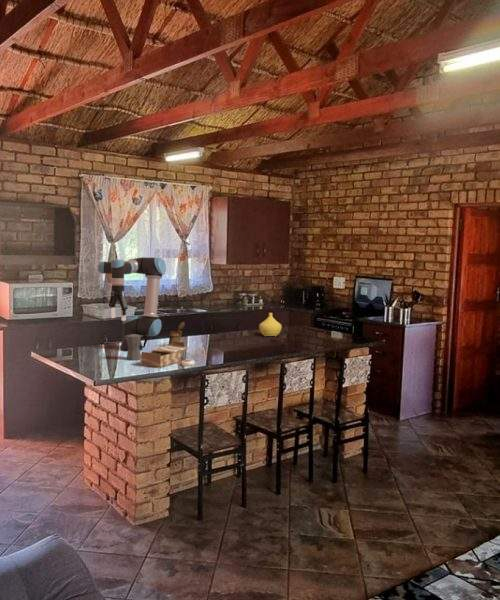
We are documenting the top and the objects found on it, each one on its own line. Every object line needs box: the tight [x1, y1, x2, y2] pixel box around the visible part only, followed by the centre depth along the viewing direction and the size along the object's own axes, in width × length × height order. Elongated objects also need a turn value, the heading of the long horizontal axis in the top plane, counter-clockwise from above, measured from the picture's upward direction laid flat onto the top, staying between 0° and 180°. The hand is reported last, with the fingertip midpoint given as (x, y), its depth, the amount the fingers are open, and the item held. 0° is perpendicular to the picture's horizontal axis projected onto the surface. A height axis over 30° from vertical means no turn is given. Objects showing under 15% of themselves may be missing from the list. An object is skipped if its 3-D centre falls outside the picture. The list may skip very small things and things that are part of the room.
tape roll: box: [180, 359, 196, 367], centre depth 340 cm, size 8×8×3 cm
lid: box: [151, 341, 190, 353], centre depth 350 cm, size 19×14×4 cm
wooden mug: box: [167, 321, 186, 346], centre depth 401 cm, size 9×14×18 cm, turn 134°
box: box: [140, 350, 181, 369], centre depth 341 cm, size 20×15×8 cm
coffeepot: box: [124, 331, 149, 361], centre depth 354 cm, size 15×9×18 cm, turn 90°
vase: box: [258, 312, 282, 337], centre depth 458 cm, size 18×18×19 cm
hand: (118, 319), depth 342 cm, fingers open, 13 cm apart
